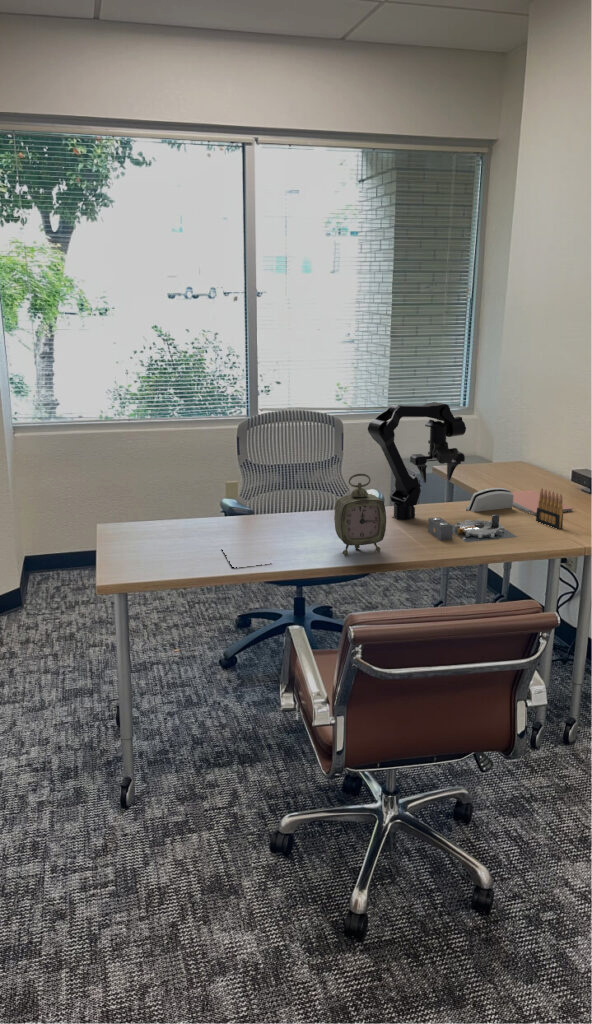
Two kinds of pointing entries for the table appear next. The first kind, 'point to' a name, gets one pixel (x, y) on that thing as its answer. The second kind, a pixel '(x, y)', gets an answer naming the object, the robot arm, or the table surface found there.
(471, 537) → the base plate
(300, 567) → the table surface
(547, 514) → the ammunition clip
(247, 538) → the table surface
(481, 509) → the grey half-round block
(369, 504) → the tabletop clock
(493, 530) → the sprocket wheel
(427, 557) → the table surface
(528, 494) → the notebook
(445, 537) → the chain link
